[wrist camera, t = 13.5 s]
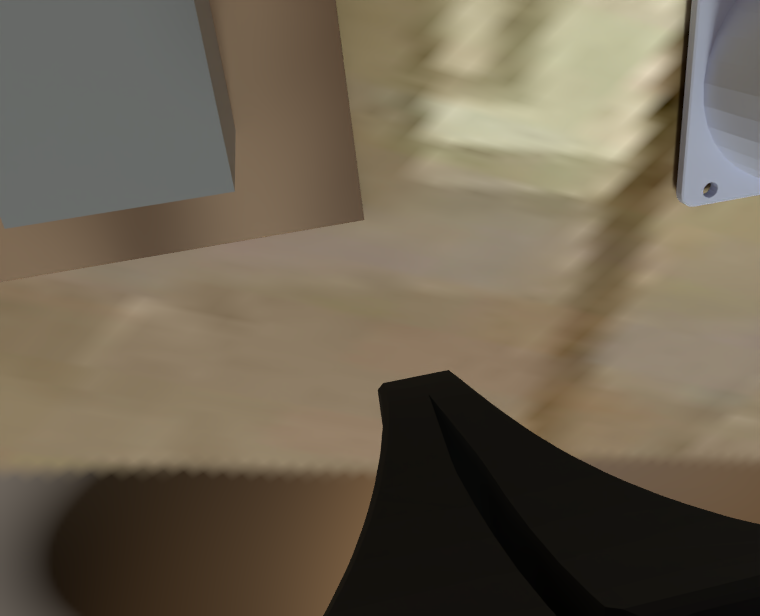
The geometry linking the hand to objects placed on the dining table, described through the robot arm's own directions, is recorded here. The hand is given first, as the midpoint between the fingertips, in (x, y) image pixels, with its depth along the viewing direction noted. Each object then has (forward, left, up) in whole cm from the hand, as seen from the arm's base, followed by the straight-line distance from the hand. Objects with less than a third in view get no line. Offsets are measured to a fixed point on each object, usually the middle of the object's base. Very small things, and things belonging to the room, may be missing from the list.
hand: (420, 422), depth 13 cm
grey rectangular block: (+5, -6, -10) cm, 12 cm away
